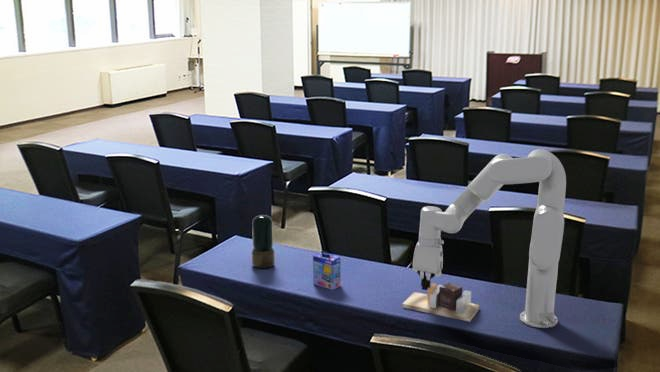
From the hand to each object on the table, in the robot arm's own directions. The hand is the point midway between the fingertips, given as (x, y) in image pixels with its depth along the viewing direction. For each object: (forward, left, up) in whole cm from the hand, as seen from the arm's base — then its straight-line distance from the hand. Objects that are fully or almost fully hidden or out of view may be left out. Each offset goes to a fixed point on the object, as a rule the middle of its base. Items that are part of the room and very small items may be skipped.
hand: (425, 288), depth 245 cm
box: (-6, -7, -5) cm, 11 cm away
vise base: (-4, -5, -6) cm, 9 cm away
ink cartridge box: (+25, +32, -7) cm, 41 cm away
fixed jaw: (-9, -11, -5) cm, 15 cm away
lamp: (+51, +54, -7) cm, 74 cm away
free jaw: (-2, -3, -5) cm, 6 cm away
